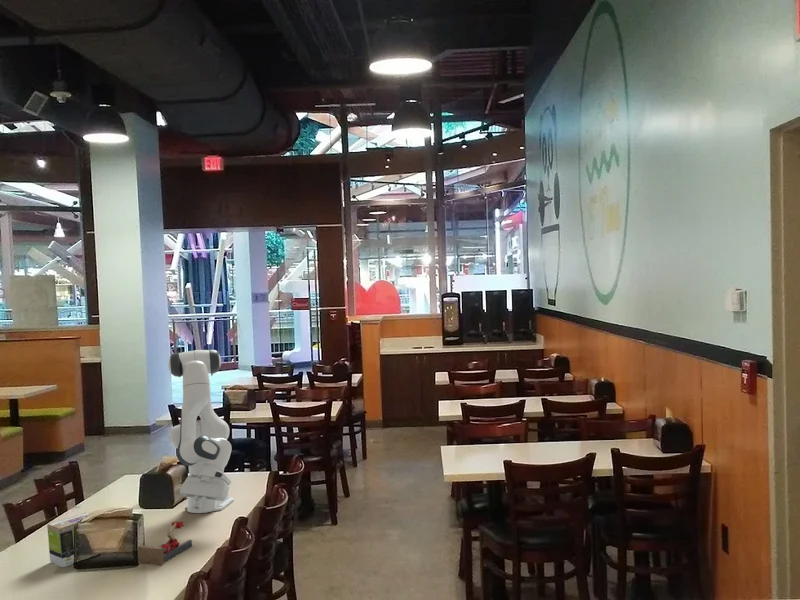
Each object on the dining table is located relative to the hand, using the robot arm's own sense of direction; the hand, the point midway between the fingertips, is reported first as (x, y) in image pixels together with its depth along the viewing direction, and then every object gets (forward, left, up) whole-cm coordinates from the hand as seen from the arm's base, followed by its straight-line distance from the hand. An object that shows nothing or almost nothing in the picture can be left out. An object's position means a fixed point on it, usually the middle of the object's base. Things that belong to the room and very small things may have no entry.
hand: (196, 508), depth 284 cm
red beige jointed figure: (+16, 0, -12) cm, 20 cm away
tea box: (+31, -32, -12) cm, 46 cm away
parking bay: (+19, 0, -11) cm, 22 cm away
